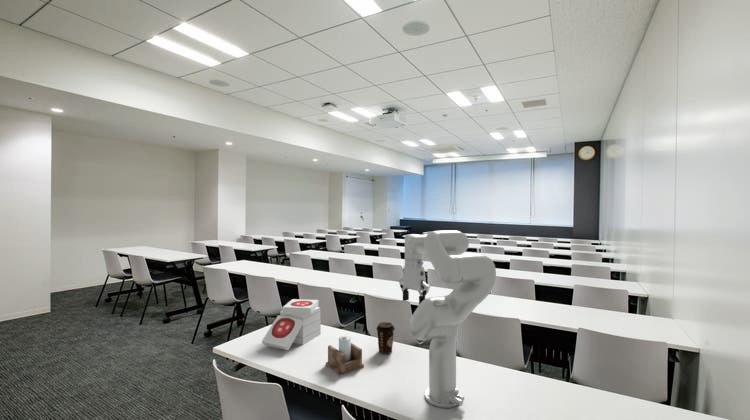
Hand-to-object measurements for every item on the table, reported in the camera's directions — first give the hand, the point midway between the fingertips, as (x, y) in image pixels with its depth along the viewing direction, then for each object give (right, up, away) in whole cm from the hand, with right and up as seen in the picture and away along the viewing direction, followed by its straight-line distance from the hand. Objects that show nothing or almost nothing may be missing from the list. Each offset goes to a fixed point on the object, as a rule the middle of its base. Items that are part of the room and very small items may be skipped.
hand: (413, 302), depth 141 cm
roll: (-30, -27, +1) cm, 40 cm away
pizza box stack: (-58, -28, +28) cm, 71 cm away
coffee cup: (-12, -28, +15) cm, 34 cm away
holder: (-30, -28, +1) cm, 41 cm away
